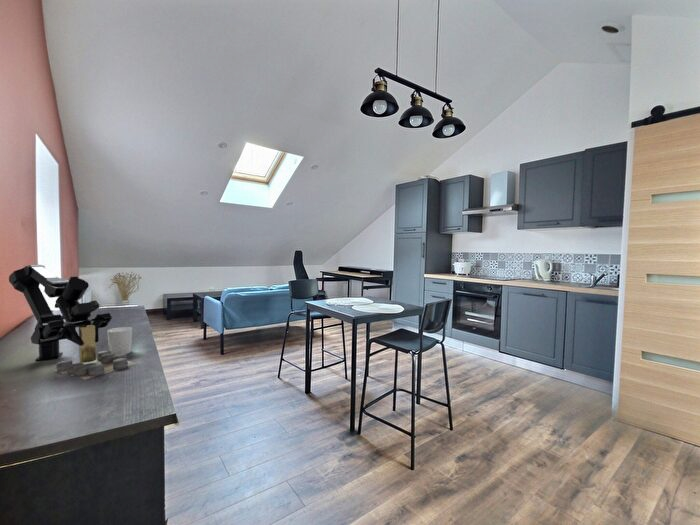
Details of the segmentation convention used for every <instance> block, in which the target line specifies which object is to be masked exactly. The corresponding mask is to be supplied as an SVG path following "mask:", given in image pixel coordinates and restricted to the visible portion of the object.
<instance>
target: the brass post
mask: <svg viewBox="0 0 700 525" xmlns="http://www.w3.org/2000/svg"><path fill="white" fill-rule="evenodd" d="M78 335H79V337H80V338H81V340H82V343H83V345H82V346H79V345H78V347H79V348H78V349H79V350H78V352H79V356H78V357H79V363H87V362H92V361H95V360H96V359H97V358H96V357H97V356H96V355H97V350H96V348H97V347H96V346H97V345H96V343H97V342H96V340H95V325H85V326H80V327H78Z"/></svg>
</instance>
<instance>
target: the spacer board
mask: <svg viewBox="0 0 700 525" xmlns="http://www.w3.org/2000/svg"><path fill="white" fill-rule="evenodd" d="M96 355H97V356H96V357H97V358H96V360H95V361H92V362H87V363H80V362H78V363H77V362H76V363H73V360H70V359H67V360H62V361H58V362H56V363H55V364H56V369H53V370H52V371H53V372H57V373H60V374H63V375H67V376H71V377H75V378H78V379H81V380H88V379H91V378H95V377H99V376H102V375H104V374H107V373H110V372H113V371H117V370H123V369H126V368H128V367H130V366H133V365H137V364H138V363H137V362H133V361H129V360H128V356H127V355H128V353H127V354H119V355H115V354H113V353H111V351H109V350H102V351H101V350H100V351H98V352H96Z"/></svg>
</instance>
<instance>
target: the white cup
mask: <svg viewBox="0 0 700 525" xmlns="http://www.w3.org/2000/svg"><path fill="white" fill-rule="evenodd" d="M132 340H133V327H132V326H131V327H130V326H120V327H115V328H110V329H108V330H107V344H108V351H111V353H113V354H115V355H119V354H127V355H128V354H129V353H131V352H132V344H133V343H132Z"/></svg>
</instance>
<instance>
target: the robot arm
mask: <svg viewBox="0 0 700 525" xmlns="http://www.w3.org/2000/svg"><path fill="white" fill-rule="evenodd" d="M8 282H9V284H11V285H12V288H13V289H14V290H16V291H18V292H20V293H22V294H23V296H24V298H25V299H26V302H27V304H28V305H29V308H30V310H31V313H33V316H34V317H35V320H36V324H35V326H34V331H33V333H32V335H31V336H30V341H31V344H32V345H33V344H34V345H38V356H37V357H36V358H35V361H36V362H37V361H43V360H44V361H45V360H53V359H59V358H60V357H61V356H62V355H63V352H60V341H61V340H68V341H70V342H73V343H74V344H76V345H78V347H79V346H82V345H83V343H82V340H81V338H80V337H79V332H78V331H77V328H79V327H80V326H85V325H95V340H96V343H98V342H99V339H100V338H99V329H103V328H106V327H108V325H109V323H110V322H111V321H112V319H113V316H112V314H111V313H109V312H104V313H98V314H96V316H95V317H94V318H90V317H91V316H92V313H93V312H95V311H97V310H98V309H100V304H99V302H98V301H97V300H91V301H89V302H81V303H80V302H79V300H81V299H82V298H83V297H84V295H85V294H86V292H87V290H88V289H89V287H90V286H89V283H88V281H86V280H85V279H82V278H79V277H78V275H75V276H70V277H69V279H67V278H61V277H58V276H57V275H55V274H53V273H52V272H51V271H49V270H48V269H46V266H45V265H43V264H29V265H25V266H24V267H22V268H19V269H17V270H14V271H12V273H10V274H9V276H8ZM40 285H42V286H43V287H44V291H43V292H44V293H45V295H46V296H47V297H48V298H49V299H51V298H56V300H55V304H54V308H55V309H59V311H60V313H61V314H59V313H58V314H54V313H53V312H52V310H51V308H50V307H51V306H50V305H49V303H48V301H47V299H46V298H45V296H44V294H43V292H42V290H41V288H40Z"/></svg>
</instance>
